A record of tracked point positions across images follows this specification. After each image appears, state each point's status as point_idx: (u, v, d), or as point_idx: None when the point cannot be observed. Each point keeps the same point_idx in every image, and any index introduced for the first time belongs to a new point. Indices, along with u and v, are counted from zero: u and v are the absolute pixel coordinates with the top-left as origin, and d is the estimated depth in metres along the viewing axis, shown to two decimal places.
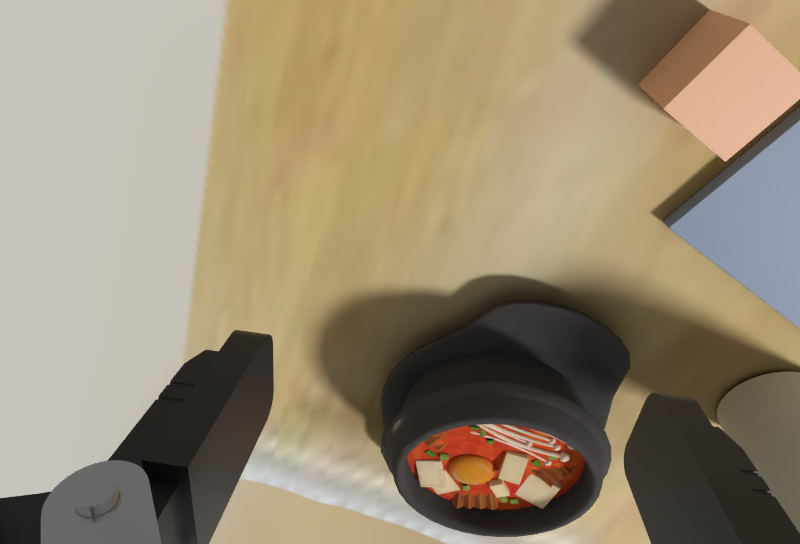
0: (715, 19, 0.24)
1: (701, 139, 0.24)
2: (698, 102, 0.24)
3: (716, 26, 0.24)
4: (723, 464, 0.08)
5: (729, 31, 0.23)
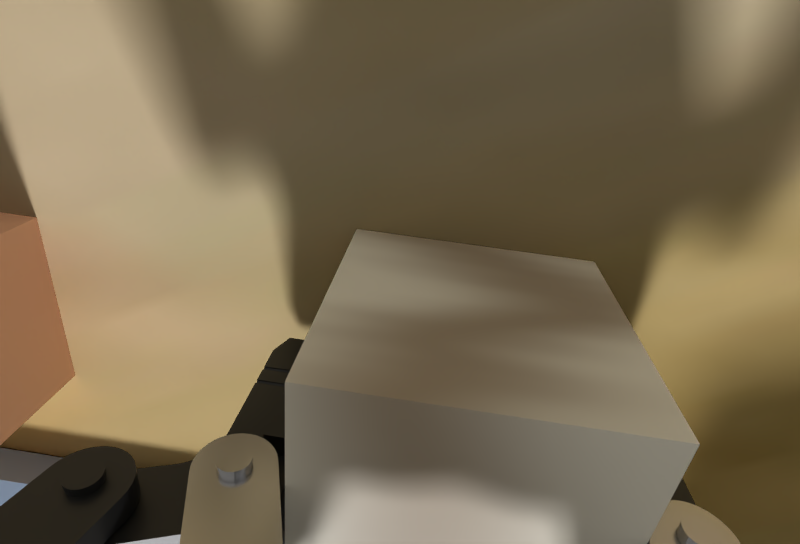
0: None
1: None
2: None
3: None
4: None
5: None
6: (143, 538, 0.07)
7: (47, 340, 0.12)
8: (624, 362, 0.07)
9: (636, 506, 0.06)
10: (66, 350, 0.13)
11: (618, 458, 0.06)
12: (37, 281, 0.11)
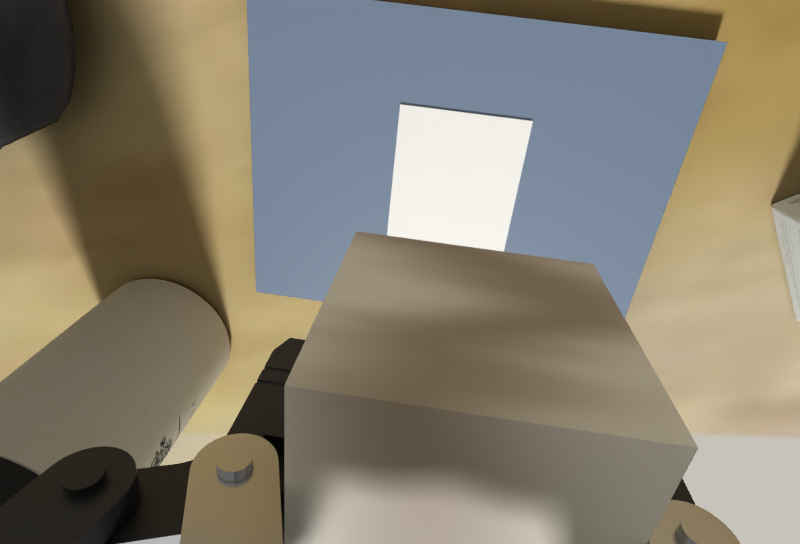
0: None
1: None
2: None
3: None
4: None
5: None
6: (143, 538, 0.07)
7: None
8: (623, 366, 0.07)
9: (634, 509, 0.06)
10: None
11: (616, 460, 0.06)
12: None
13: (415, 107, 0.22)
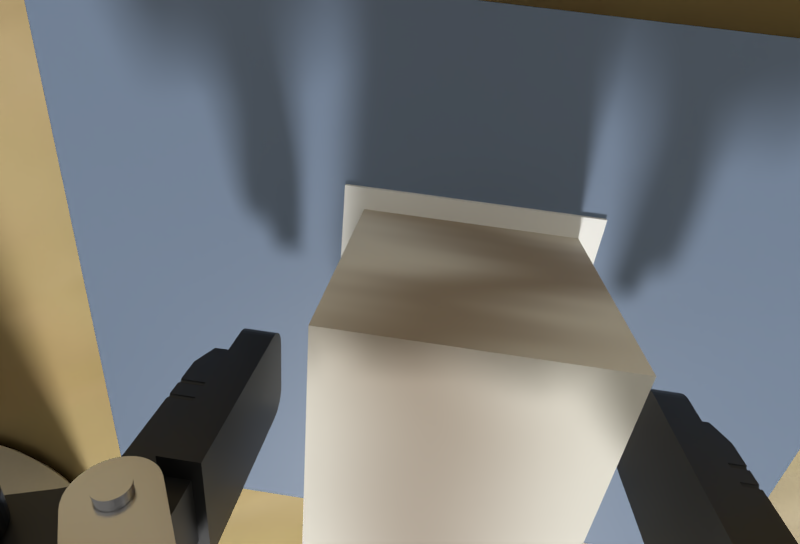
0: None
1: None
2: None
3: None
4: (711, 458, 0.08)
5: None
6: None
7: None
8: (598, 316, 0.08)
9: (605, 434, 0.08)
10: None
11: (588, 389, 0.07)
12: None
13: (375, 190, 0.11)
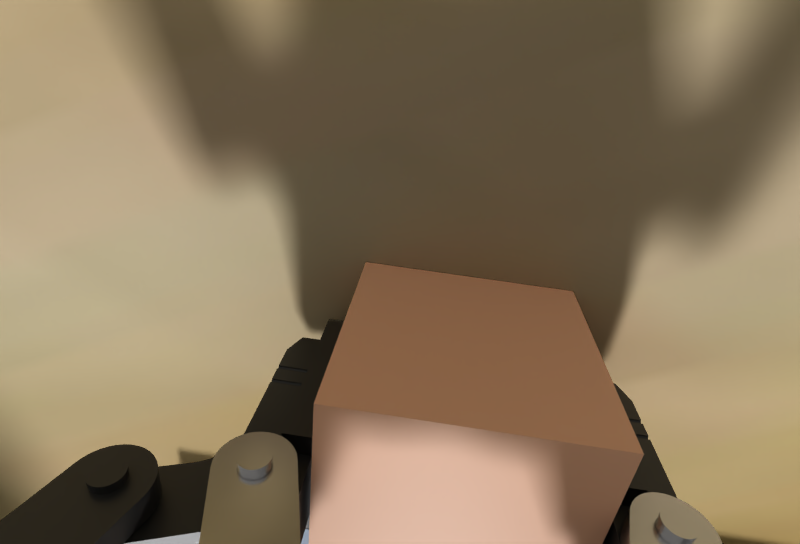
0: (573, 327, 0.09)
1: (313, 528, 0.08)
2: (387, 470, 0.07)
3: (567, 346, 0.09)
4: None
5: (585, 400, 0.07)
6: (163, 538, 0.07)
7: None
8: None
9: None
10: None
11: None
12: None
13: None
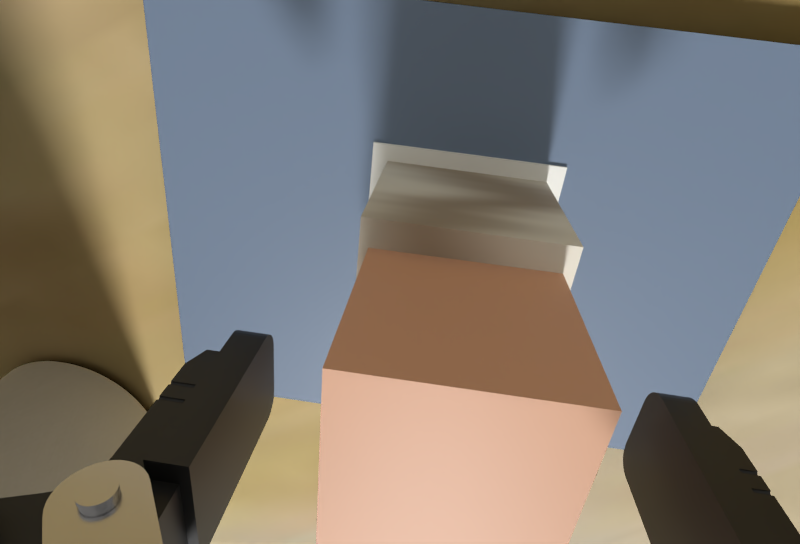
0: (562, 304, 0.10)
1: (321, 487, 0.09)
2: (389, 430, 0.08)
3: (555, 320, 0.09)
4: (722, 463, 0.08)
5: (570, 366, 0.08)
6: None
7: None
8: (552, 220, 0.12)
9: None
10: None
11: (541, 258, 0.11)
12: None
13: (395, 146, 0.15)
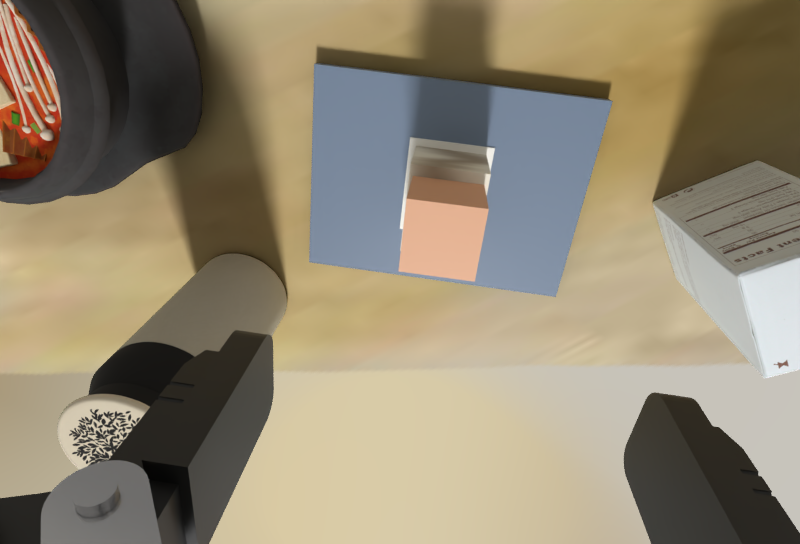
0: (480, 191, 0.30)
1: (402, 242, 0.28)
2: (424, 219, 0.28)
3: (476, 194, 0.29)
4: (723, 464, 0.08)
5: (477, 202, 0.28)
6: None
7: None
8: (482, 167, 0.32)
9: None
10: None
11: (476, 178, 0.31)
12: None
13: (419, 139, 0.35)
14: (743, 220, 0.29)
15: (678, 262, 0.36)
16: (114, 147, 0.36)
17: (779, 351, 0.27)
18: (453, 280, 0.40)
